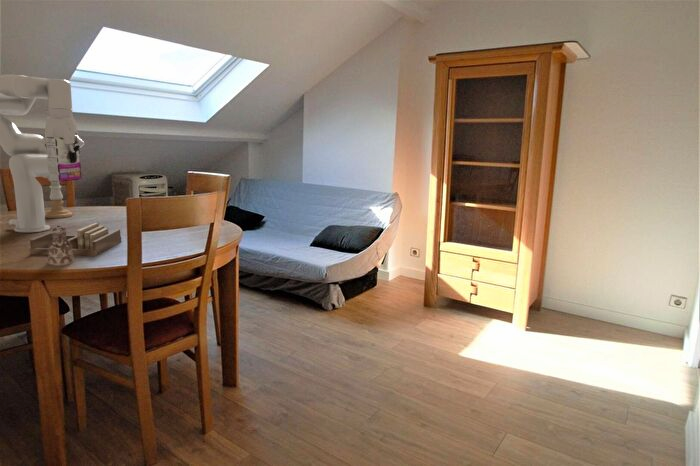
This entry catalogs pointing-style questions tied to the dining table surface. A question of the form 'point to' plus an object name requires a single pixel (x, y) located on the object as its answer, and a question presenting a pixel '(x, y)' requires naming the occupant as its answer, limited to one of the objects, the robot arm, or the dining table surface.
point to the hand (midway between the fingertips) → (64, 161)
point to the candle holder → (56, 202)
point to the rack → (75, 244)
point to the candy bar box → (61, 161)
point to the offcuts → (90, 235)
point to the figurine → (60, 248)
